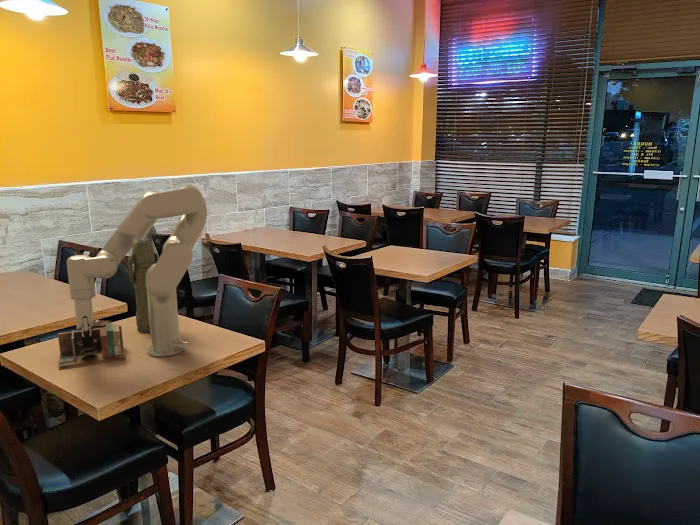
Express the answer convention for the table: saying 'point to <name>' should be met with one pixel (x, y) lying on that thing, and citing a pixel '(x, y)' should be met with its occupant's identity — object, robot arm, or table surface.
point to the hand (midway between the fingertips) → (88, 343)
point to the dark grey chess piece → (88, 350)
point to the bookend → (69, 353)
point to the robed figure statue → (141, 281)
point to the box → (99, 324)
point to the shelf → (106, 347)
